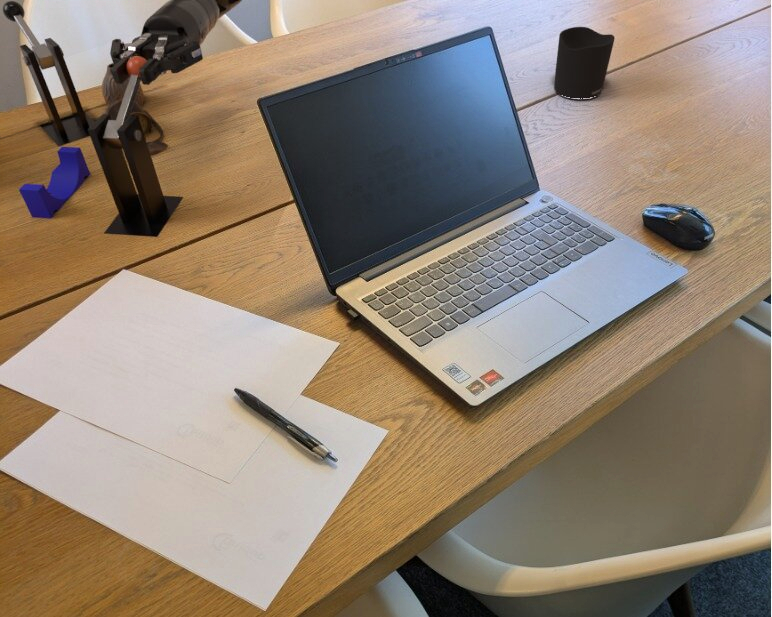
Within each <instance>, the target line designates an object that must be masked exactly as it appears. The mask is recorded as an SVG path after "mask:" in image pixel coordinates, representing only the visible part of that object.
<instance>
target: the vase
mask: <svg viewBox="0 0 772 617" xmlns="http://www.w3.org/2000/svg"><path fill="white" fill-rule="evenodd" d="M113 66H114V64H113V62H112V63H109V64H108V65H107V66H106V71H105V75H104V77H103V79H102V83H101V92H102V93H101V94H102V97H103V99H104V102H105V104H106V105H107V108H108V107H109V106H110V104H112V103H113V102H114V101H116V100H119V99H122V98H123V97H124V94H125V91H126V88H127V85H128V82H129V79H130V77H129V78H128V79H127V80H126V81H125V82H124V83H123V84H117V83H116V82H115V80H114V79H113V76H112V73H111V68H112V67H113ZM142 87H143V86H142V85H141V84H140V85H139V88H138V91H137V94H136V98H135V101H136V102H137V103H138V104H139V105H140V106H141V107H143V106H144V101H145V95H144V90H143V88H142Z"/></svg>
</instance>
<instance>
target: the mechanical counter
mask: <svg viewBox="0 0 772 617" xmlns="http://www.w3.org/2000/svg"><path fill="white" fill-rule="evenodd" d="M122 100H123V98H122V99H119V100H116V101H114V102H113V103H112V104H110V106H109V107H108V106H107V108H106V110H105V112H104V114H110V116H111V119H112V120H116V119H117V116H118V113H119V109H120V106H121V103H122ZM131 115H138V116H139V119H140V123H141V126H142V129H143V132H144V133H151V131H152V128H153V127H154V128H155V129H156V130H157V131H158V133H159V134H160V135H159V137H158V138H157V139H155V140H152V141H146V142H147V145H148V148H149V151H150V155H151V156H154V155H157V154H160V153H162V152H163V151H164V150H166V149H167V148H168V144H167V143H165V142H162V141H163V139H164V130H163V129H162V127H161V125H160V124H159V123H158V122H157V121H156V119H154V117H153V116H152V115H150V114H149V112H148V111H147V110H145V109H143V106H140V105H139V104H138V103H137V102H136V101H134V104H133V107H132V110H131V113H130V116H131ZM130 116H129V117H130Z"/></svg>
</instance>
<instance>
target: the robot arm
mask: <svg viewBox="0 0 772 617" xmlns="http://www.w3.org/2000/svg"><path fill="white" fill-rule="evenodd" d="M241 2H243V0H168V1H166V2H165V3H164V4H163V5H162V6H160V7H159V8H158V9H157V10H155V12H154V13H152V15H150V16H149V17H148V18H147V19H146V20H145V22H144V24H143V26H142V30H141V33H140V35H139V36H137V37H135V38H133V39H132V41H131V42H128V43H125V42H124V41H122V39H121V38H114V39H113V40H112V41H111V44H110V45H111V46H110V52H109V55H110V58H111V62H112V63H113V64H114V66H113V67H112V68H111V73H112V76H113V79H114V80H115V82H116V83H117V84H123V83H124V82H125V81H126V80H127V79H128V78H129V77H130V75H129V74H128V72H127V68H126V66H127V62H128V60H129V59H130V58H132V57H135V56H140V57H143V58H145V59H146V60H147V62H146V63H145V64H144V65H143V66H142V67H141V68H140V69H139V74H140V77H141V80H142V81H141V84H142V85H144V86H150V84H152V82H154V81H155V80H157V79H158V77H159V76H164V75H166V74H167V72H168V71H170V73H171V74H179V73H180V72H183V71H184V70H186V69H188V68H190V67H192V66H193V65H195V64H197V63H199V62H201V61H203V60H204V57H203V56H204V55H203V51H202V48H201V45H202V44H203V43H204V41H205V40H206V38H207V36H208V35H209V34H210V32H212V31H213V29H214V28H215V27H216V25H217V23H218V21H219V19H221V18H222V17H223V16H225V15H226V14H228V13H229V12H230V11H231V10H233V9H234V8H235V7H236V6H238V5H240V4H241Z"/></svg>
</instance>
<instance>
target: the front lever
mask: <svg viewBox="0 0 772 617" xmlns="http://www.w3.org/2000/svg"><path fill="white" fill-rule="evenodd" d="M146 62H147V60H146V59H145V58H143V57H140V56H135V57H132V58H130V59H129V60H128V62H127V66H126V68H127V72H128V74H129V75H130V79H129V82H128V85H127V88H126V91H125V94H124V97H123V100H122V103H121V106H120V109H119V113H118V116H117V119H116V120H108V123H107V126H106V129H105V132H104V135H103V139H104V140H105V141H106V142H107V144H108V145H109V146H110V147H111V148H114V149H122V150H123V148H122V145H121V142H120V139H119V136H118V133H117V130H118V129H119V128H120V127H121V126H122V124H123V123H124V122H125V121H126V120H127V119H128V118H129V116H130V113H131V110H132V107H133V104H134V101H135V98H136V94H137V91H138V88H139V85H141V83H142V80H141V77H140V74H139V69H140V68H141V67H142V66H143V65H144V64H145V63H146Z"/></svg>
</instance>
